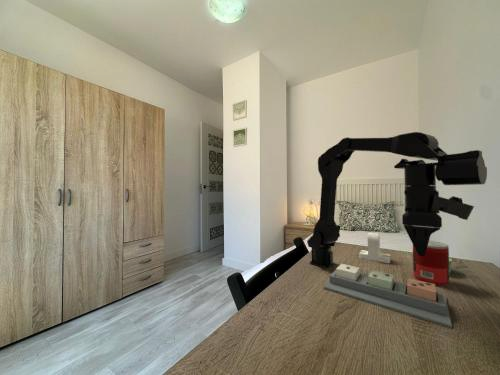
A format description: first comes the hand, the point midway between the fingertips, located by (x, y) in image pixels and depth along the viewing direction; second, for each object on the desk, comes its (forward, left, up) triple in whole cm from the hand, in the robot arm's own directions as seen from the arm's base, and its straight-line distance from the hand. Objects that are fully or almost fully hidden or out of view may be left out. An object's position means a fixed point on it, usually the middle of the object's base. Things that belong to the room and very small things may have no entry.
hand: (421, 251), depth 48 cm
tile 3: (0, -1, -10) cm, 10 cm away
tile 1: (-16, -1, -10) cm, 19 cm away
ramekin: (+3, +28, -13) cm, 31 cm away
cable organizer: (-14, +28, -13) cm, 34 cm away
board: (-8, -1, -12) cm, 15 cm away
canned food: (+2, +17, -12) cm, 21 cm away
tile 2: (-8, -1, -10) cm, 13 cm away
